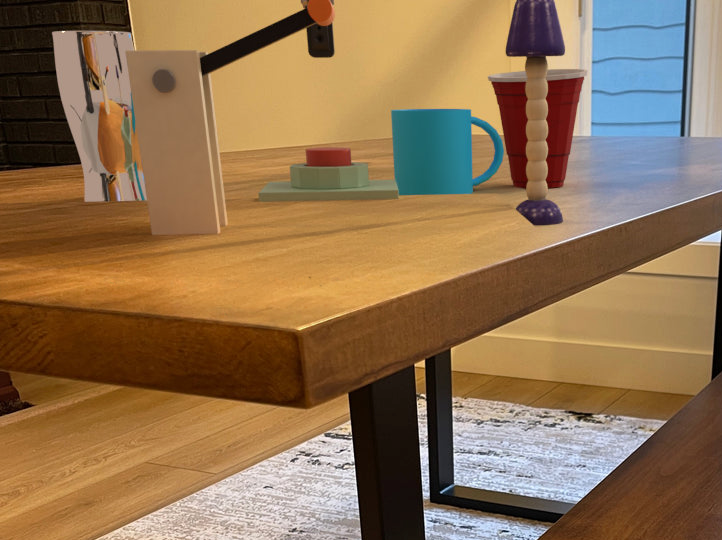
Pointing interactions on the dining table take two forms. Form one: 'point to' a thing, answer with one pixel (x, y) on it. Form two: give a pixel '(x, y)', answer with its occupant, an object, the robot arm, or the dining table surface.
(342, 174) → the button box
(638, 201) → the dining table surface
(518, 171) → the plastic cup
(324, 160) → the button
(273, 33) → the lever
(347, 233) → the dining table surface
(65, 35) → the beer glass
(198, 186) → the bracket
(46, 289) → the dining table surface
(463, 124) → the mug
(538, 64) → the toy lamp
